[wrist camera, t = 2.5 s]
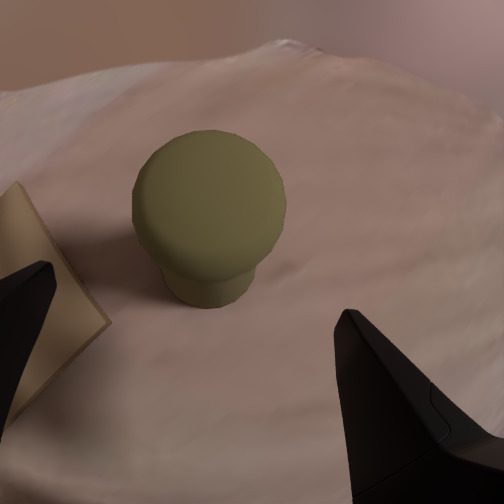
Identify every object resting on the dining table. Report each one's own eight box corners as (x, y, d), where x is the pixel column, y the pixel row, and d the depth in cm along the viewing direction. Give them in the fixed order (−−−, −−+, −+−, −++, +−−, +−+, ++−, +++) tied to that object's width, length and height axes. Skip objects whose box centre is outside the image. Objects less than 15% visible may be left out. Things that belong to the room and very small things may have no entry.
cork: (275, 254, 20) (346, 177, 9) (215, 329, 18) (224, 336, 8) (203, 197, 20) (202, 77, 9) (141, 266, 18) (69, 198, 8)
